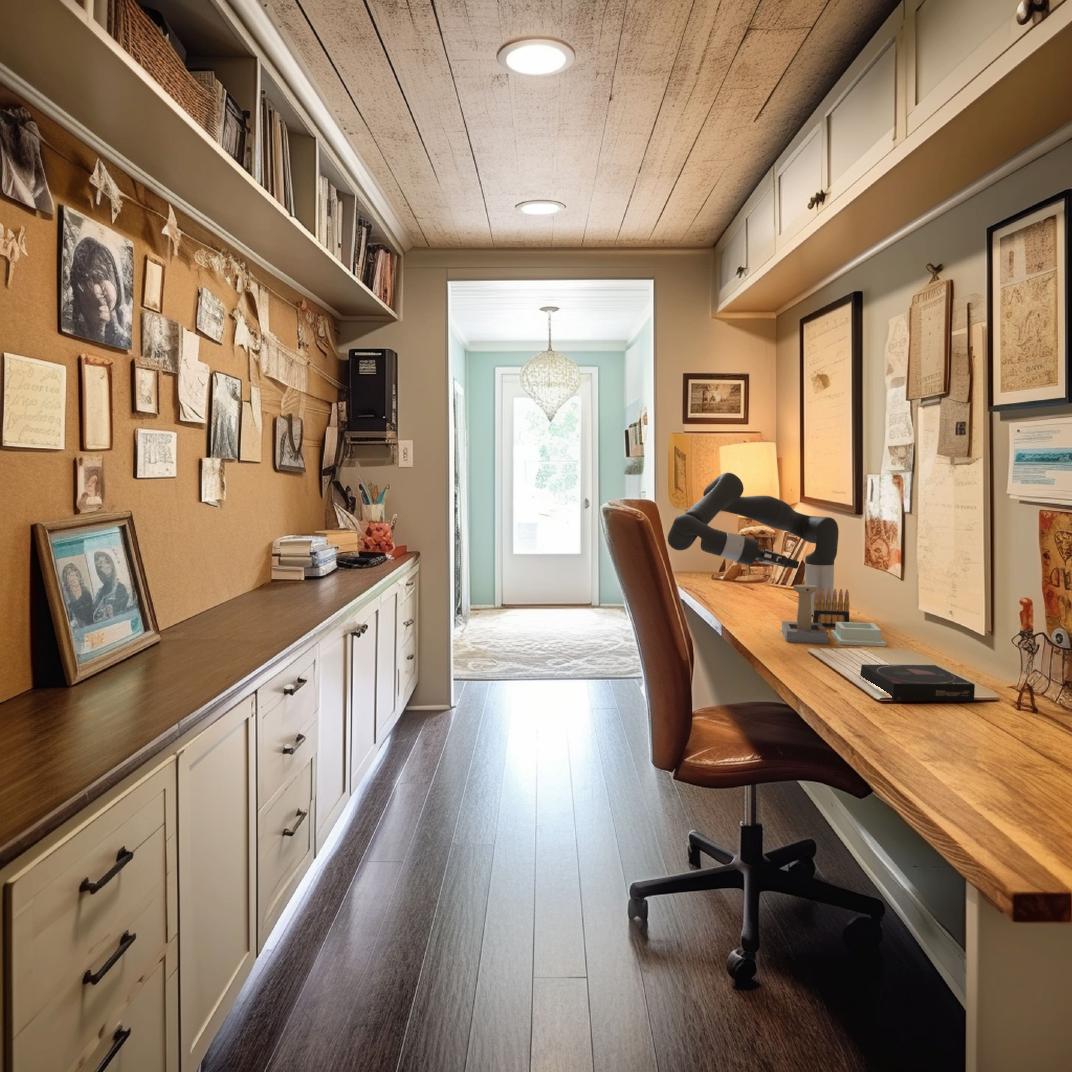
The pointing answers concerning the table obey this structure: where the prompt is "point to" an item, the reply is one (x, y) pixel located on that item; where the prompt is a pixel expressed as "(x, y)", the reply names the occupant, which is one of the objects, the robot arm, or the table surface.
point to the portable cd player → (919, 682)
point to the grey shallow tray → (858, 634)
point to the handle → (804, 605)
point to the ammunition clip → (828, 615)
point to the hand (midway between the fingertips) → (793, 564)
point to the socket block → (804, 633)
